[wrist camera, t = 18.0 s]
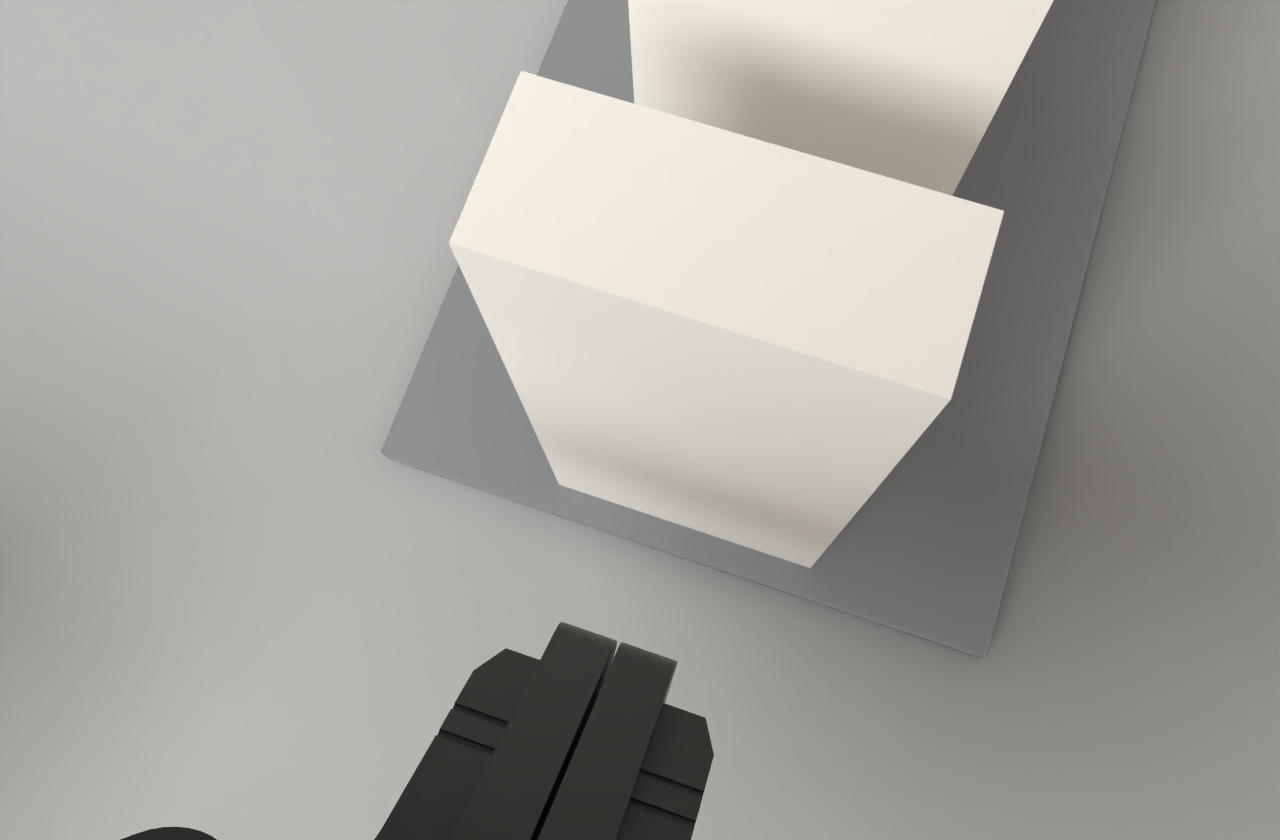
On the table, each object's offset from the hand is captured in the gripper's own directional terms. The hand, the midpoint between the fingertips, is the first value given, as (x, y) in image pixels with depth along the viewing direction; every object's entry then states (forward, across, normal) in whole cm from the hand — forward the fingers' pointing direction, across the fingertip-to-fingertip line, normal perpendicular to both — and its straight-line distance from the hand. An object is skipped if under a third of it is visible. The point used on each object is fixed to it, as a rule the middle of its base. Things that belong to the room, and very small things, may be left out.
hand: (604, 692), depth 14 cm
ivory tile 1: (+8, 0, +2) cm, 8 cm away
